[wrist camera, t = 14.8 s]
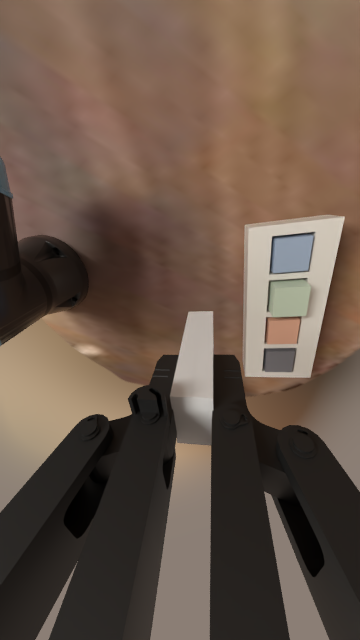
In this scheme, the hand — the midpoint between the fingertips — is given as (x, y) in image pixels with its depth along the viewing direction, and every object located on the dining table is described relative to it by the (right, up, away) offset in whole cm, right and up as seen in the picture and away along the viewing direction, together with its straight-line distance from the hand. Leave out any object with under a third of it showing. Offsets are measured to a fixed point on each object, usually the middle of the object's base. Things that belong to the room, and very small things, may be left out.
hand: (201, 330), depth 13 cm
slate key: (+15, +11, +19) cm, 27 cm away
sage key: (+16, +5, +21) cm, 26 cm away
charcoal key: (+18, -6, +28) cm, 34 cm away
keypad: (+17, +4, +26) cm, 31 cm away
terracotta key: (+17, 0, +25) cm, 30 cm away
